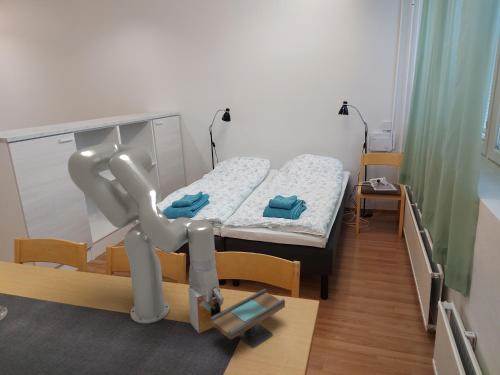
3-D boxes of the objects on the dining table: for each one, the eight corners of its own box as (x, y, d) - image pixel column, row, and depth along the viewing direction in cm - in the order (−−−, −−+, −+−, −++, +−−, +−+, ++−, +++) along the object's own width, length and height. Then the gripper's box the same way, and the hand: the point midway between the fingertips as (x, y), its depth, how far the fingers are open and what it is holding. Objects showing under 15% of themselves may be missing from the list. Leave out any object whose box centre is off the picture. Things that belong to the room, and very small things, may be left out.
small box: (198, 334, 111) (196, 297, 108) (190, 323, 117) (187, 287, 113) (221, 324, 116) (220, 288, 112) (212, 314, 121) (210, 279, 117)
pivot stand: (227, 328, 114) (226, 313, 112) (246, 317, 119) (246, 303, 117) (253, 348, 105) (253, 332, 104) (272, 335, 110) (272, 320, 109)
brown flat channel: (211, 324, 106) (211, 317, 106) (264, 295, 121) (264, 288, 120) (230, 339, 100) (230, 332, 99) (284, 307, 114) (284, 300, 114)
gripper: (177, 256, 114) (181, 304, 118) (210, 276, 101) (213, 329, 106) (197, 249, 118) (200, 295, 123) (230, 267, 106) (233, 317, 111)
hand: (206, 311), depth 115 cm, fingers open, 9 cm apart
